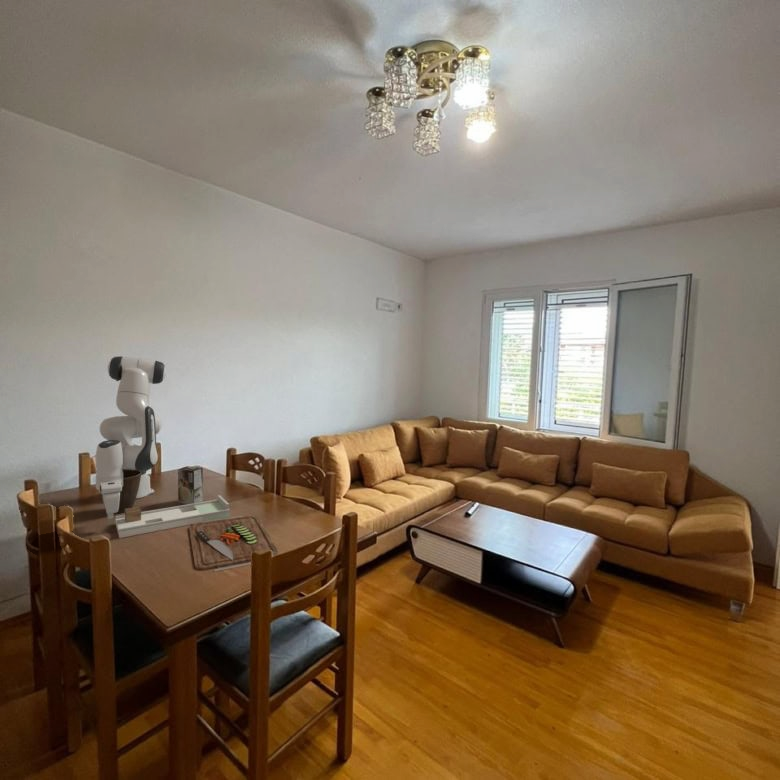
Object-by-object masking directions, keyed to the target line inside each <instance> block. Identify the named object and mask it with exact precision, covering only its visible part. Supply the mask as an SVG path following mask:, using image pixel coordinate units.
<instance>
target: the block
mask: <svg viewBox="0 0 780 780" xmlns="http://www.w3.org/2000/svg"><path fill="white" fill-rule="evenodd" d="M141 512H142V510H141V508H140V506H136V507H134V506H133V507H132V508H128V509H125V512H124V515H125V520H126V523H128V522H134V521H139V520H141Z"/></svg>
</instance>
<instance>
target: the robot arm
mask: <svg viewBox="0 0 780 780" xmlns="http://www.w3.org/2000/svg"><path fill="white" fill-rule="evenodd" d="M107 372H108V376H109V377H110V378H111V379H113V380H114V381H116V382H119V384H118V387H117V394H116V398H115V403H116V407H117V409H118V410H119V411H120V412H121V413H122V414H124V415H120V416H119V415H118V416H112V417H107V418H104V419H103V420H102V421H101V423H100V425H99V433H100V435H101V436H102V438H103V439H105V440H104V441H102V442H100V443H98V444H97V447H96V452H95V468H96V474H95V489H96V490H98V491H99V493H100V494H101V495H102V496H101V497H102V498H101V499H102V501H103V505H104V509H105V511H106V517H107V520H112V519H113V518H114V513H115V514H117V513H116V512H118V509H119V501H120V491H122V486H123V471H122V470H137V471H140V472H141V479H140V485H139V489H138V493H137V496H136V499H140V498H144V497H147V496H149V495H150V494H153V493H155V489H153V488H151V477H150V476H149V474H147V472H148V471H150V470H151V469H153V468H154V467H155V466H156V465H157V463H158V462H159V461H158V460H159V452H158V448H157V436H156V435H158V434H159V433H160V431H161V430H162V420H161V419H160V418H159V416H158V415H156V414H155V412H154V409H153V408H152V407H151V406H150V394H151V384H152V385H159V384H161V383H162V382H163V380H165V378H166V376H167V375H166V374H167V369H166V365H165V364H164V363H163V362H161V361H159V360H152V359H148V358H142V357H130V356H129V357H126V356H125V357H124V356H121V355H120V356H114V357H111V359H110V361H109V362H108V364H107ZM135 438H136V439H138V438H141V444H140V445H138V444H134V443H133V439H135Z"/></svg>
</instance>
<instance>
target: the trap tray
mask: <svg viewBox="0 0 780 780" xmlns="http://www.w3.org/2000/svg"><path fill="white" fill-rule="evenodd" d="M230 516H231V509H230V503H229V502H228V501H227V500H225V498H223V496H222V495H220V494H218V495H217V499H212V500H206V501H202V502H199V503H193V504H183V505H181V504H180V505H177V506H176V505H175V506H170V507H164V508H158V509H152V510H145V511H141V520H139V521H134V522H128V523H126V520H125V514H121V515H116V516H115V527H116V530H117V535H118V538H119V539H121V538H127V537H132V536H137V535H142V534H149V533H152V532H154V533H155V532H158V531H163V530H169V529H175V528H179V527H183V526H185V527H186V526H191V525H192V524H196V523H202V521H208V520H215V519H223V518H230Z"/></svg>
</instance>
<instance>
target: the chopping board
mask: <svg viewBox="0 0 780 780" xmlns="http://www.w3.org/2000/svg"><path fill="white" fill-rule="evenodd" d="M188 530H189V537H190V542H191V543H190V544H191V551H192V556H193V564H194V567H195V569H197V570H198V571H205V570H212V569H214V572H215V573H216V572H219V571H225V570H230V569H235V568H241V567H245V566H251V562H252V561H251V553H252V552H255V551H265V550H272V551H273V555H276V554H277V555H278V553H279V551H278V548H277V546H276V545H275V543H274V541H273V539H272V537H270V534H269V533H268V531H267V529H266V527H265V526H264V525H263V522H262V520H261V519H260V518H259V517H258V516H256V515H245V516H243V515H239V516H231V517H227V518H222V519H215V520H208V521H202V522H201V523H196V524H190V525H189V527H188ZM277 555H276V556H277Z"/></svg>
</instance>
